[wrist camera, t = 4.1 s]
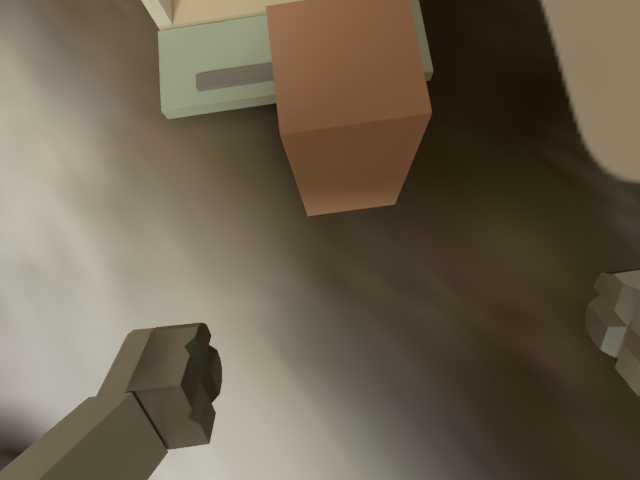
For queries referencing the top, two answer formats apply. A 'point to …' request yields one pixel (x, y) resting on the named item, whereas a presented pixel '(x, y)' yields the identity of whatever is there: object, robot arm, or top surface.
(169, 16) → the tray
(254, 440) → the top surface
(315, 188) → the terracotta block
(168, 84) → the panel
